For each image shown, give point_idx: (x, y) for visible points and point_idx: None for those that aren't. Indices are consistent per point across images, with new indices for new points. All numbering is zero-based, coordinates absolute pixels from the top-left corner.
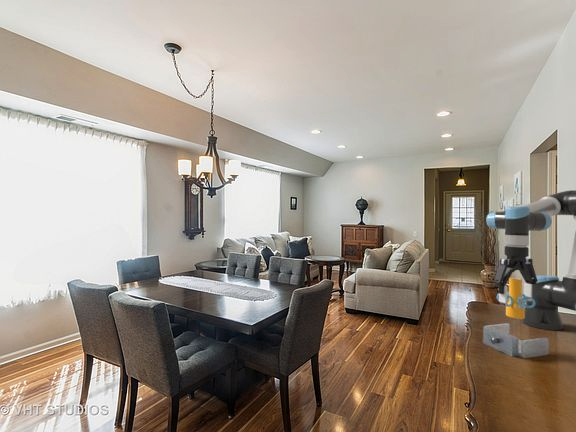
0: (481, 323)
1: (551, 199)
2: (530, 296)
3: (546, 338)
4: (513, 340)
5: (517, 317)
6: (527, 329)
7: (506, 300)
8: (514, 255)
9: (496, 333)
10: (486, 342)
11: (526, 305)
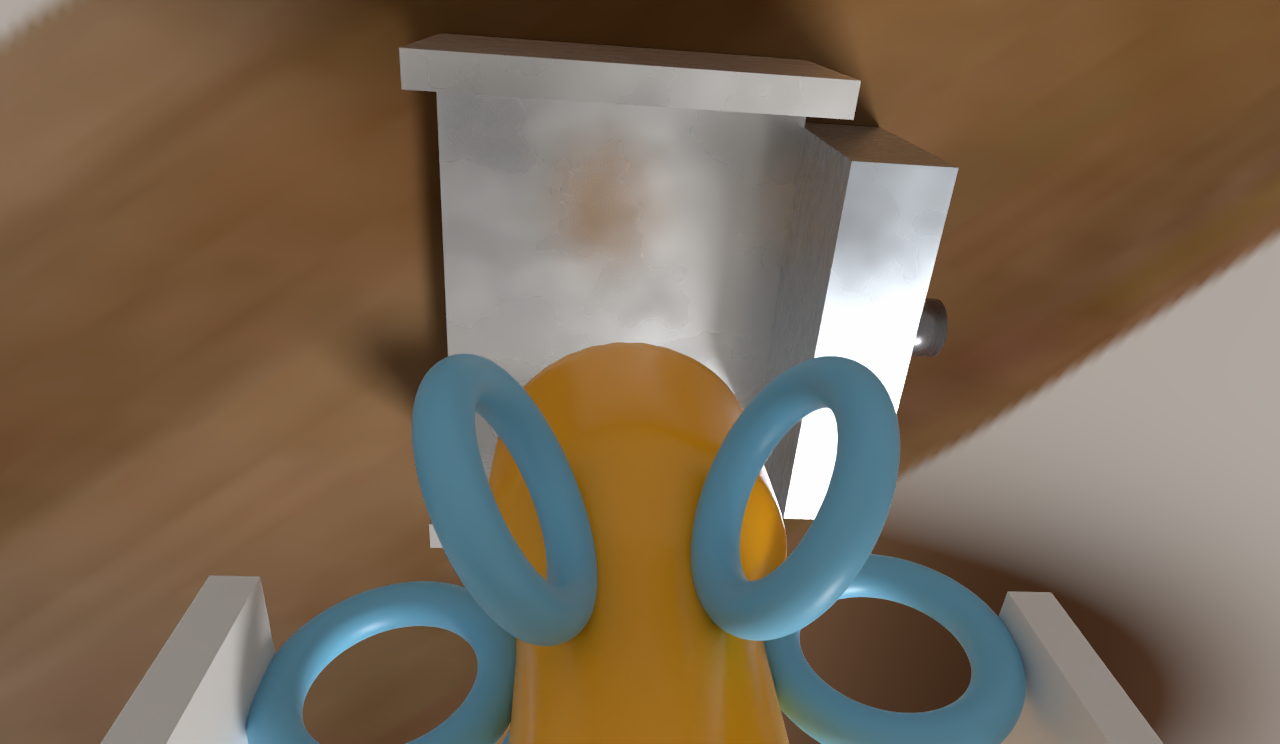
0: (387, 717)
1: None
2: (207, 673)
3: (435, 56)
4: (930, 161)
5: (715, 379)
6: (33, 535)
7: (1050, 640)
8: None
9: (901, 365)
10: None
11: (550, 460)
